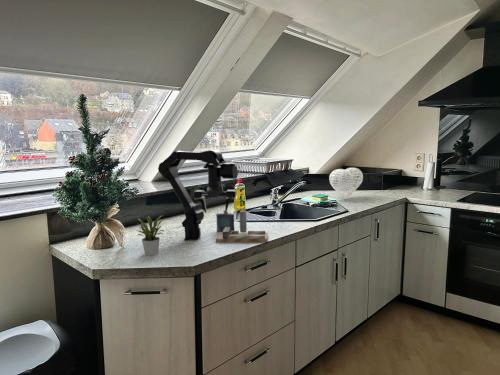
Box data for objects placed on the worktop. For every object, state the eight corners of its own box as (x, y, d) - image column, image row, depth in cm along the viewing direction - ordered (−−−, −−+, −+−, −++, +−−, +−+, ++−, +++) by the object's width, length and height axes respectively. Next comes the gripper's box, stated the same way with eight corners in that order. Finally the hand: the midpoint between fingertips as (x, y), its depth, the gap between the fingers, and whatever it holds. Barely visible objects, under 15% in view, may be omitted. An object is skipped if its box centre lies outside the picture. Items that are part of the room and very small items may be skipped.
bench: (215, 242, 173) (215, 232, 172) (219, 235, 184) (219, 226, 183) (267, 242, 171) (267, 232, 171) (267, 235, 182) (267, 226, 182)
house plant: (175, 247, 166) (173, 210, 164) (169, 257, 152) (167, 217, 150) (141, 248, 166) (139, 211, 163) (132, 258, 152) (130, 218, 150)
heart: (348, 195, 289) (349, 166, 286) (366, 198, 277) (367, 167, 274) (324, 200, 271) (324, 169, 268) (342, 203, 259) (343, 170, 256)
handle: (238, 237, 174) (237, 212, 173) (239, 233, 181) (239, 209, 179) (247, 237, 174) (246, 212, 172) (248, 233, 180) (247, 209, 179)
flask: (216, 231, 192) (215, 210, 191) (218, 230, 195) (217, 209, 193) (233, 232, 189) (232, 211, 188) (235, 231, 192) (234, 210, 190)
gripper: (190, 180, 164) (191, 216, 166) (233, 180, 163) (234, 216, 165) (195, 177, 175) (196, 211, 177) (236, 177, 174) (237, 211, 176)
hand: (215, 212), depth 173 cm, fingers open, 9 cm apart
